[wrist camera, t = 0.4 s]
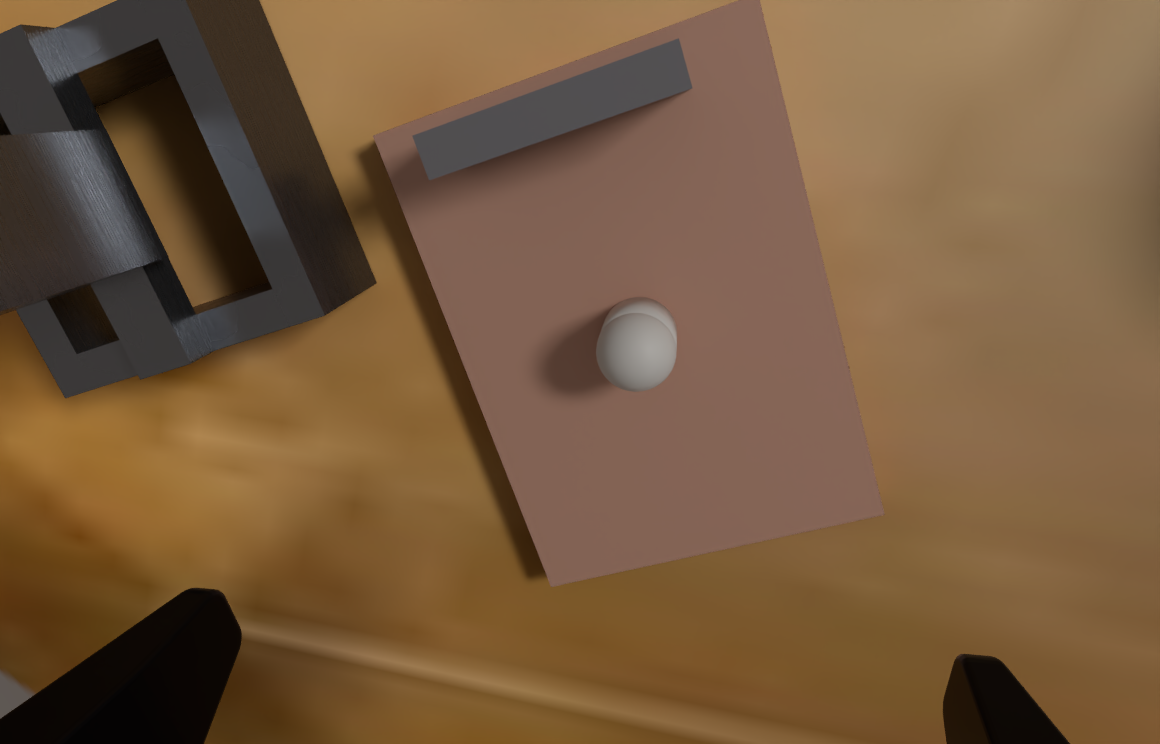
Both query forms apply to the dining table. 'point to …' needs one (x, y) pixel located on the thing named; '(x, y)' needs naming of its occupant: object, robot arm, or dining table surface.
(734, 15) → the plate
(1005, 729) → the robot arm
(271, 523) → the dining table surface
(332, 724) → the dining table surface
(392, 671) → the dining table surface
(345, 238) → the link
